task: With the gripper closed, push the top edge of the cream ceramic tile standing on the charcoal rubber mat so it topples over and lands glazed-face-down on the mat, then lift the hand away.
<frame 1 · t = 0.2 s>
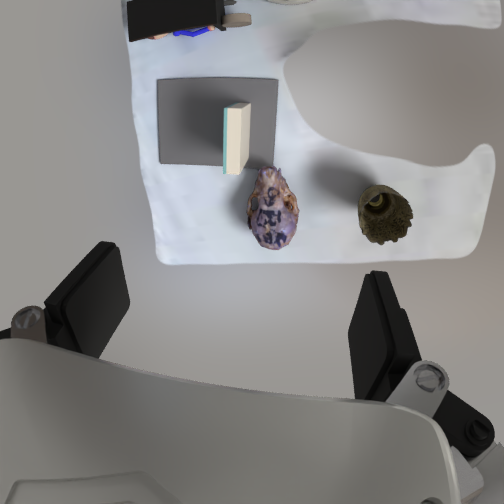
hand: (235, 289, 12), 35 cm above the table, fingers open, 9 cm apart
tile: (242, 130, 42), resting on mat
mat: (215, 122, 42), on the table
skull: (274, 200, 47), on the table, touching mat
figurine character: (197, 16, 34), on the table
cup: (373, 196, 45), on the table
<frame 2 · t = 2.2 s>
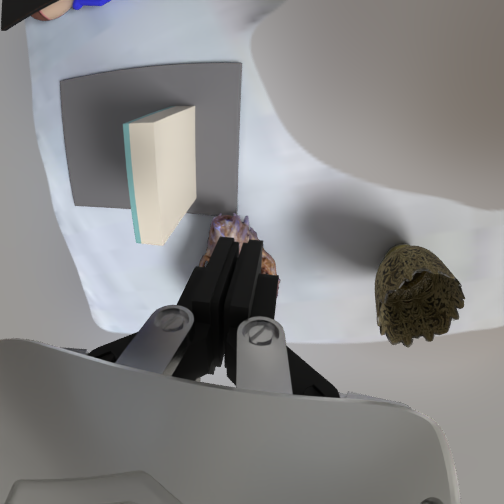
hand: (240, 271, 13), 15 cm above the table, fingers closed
tile: (183, 153, 25), resting on mat
mat: (141, 140, 25), on the table
skull: (241, 262, 30), on the table, touching mat
cup: (399, 256, 28), on the table
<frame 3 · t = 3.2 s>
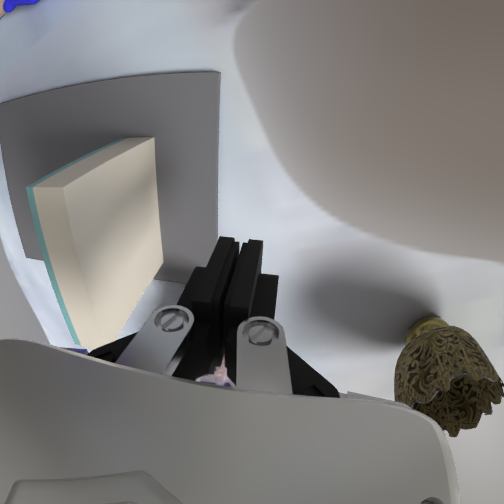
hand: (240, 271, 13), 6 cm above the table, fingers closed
tile: (142, 203, 18), resting on mat
mat: (90, 183, 18), on the table
skull: (225, 336, 23), on the table, touching mat
cup: (424, 328, 21), on the table
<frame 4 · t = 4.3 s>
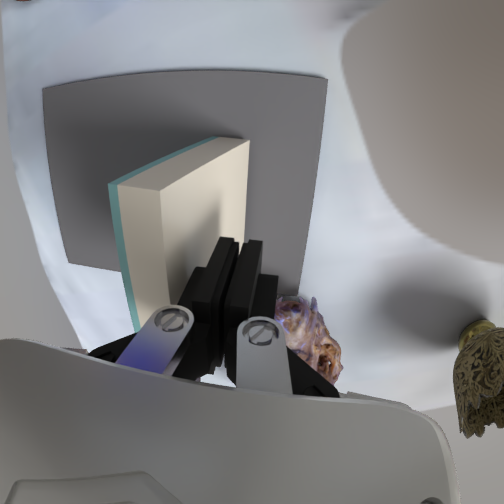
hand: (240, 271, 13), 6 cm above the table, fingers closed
tile: (228, 209, 17), point 1 cm above the table, tilted 11°, touching mat
mat: (163, 183, 18), on the table
skull: (294, 343, 23), on the table, touching mat
cup: (473, 330, 21), on the table
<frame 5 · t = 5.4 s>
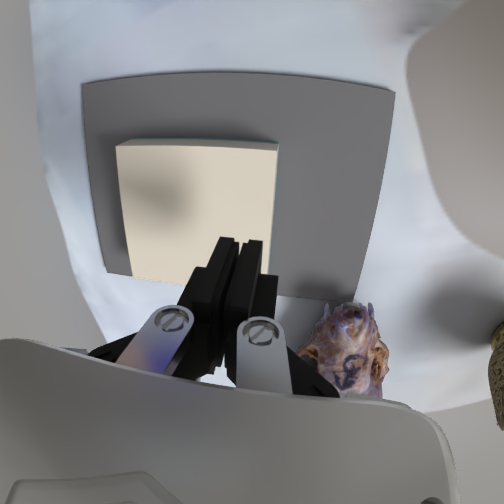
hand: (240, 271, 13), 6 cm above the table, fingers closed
tile: (272, 222, 17), point 1 cm above the table, tilted 90°, touching mat
mat: (223, 190, 17), on the table
skull: (342, 348, 23), on the table, touching mat
cup: (503, 329, 20), on the table
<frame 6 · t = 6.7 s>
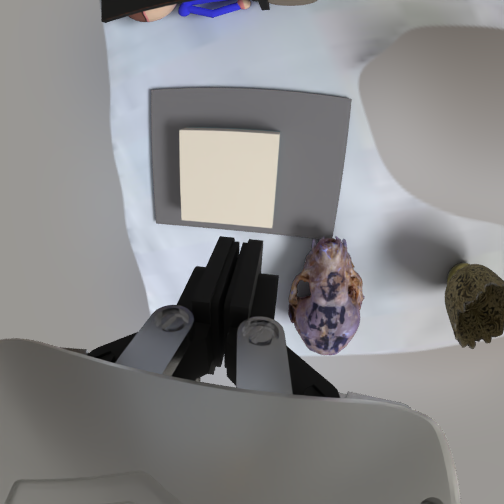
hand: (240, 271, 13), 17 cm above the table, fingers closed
tile: (276, 179, 26), point 1 cm above the table, tilted 90°, touching mat
mat: (244, 161, 27), on the table
skull: (327, 281, 32), on the table, touching mat
cup: (457, 273, 30), on the table
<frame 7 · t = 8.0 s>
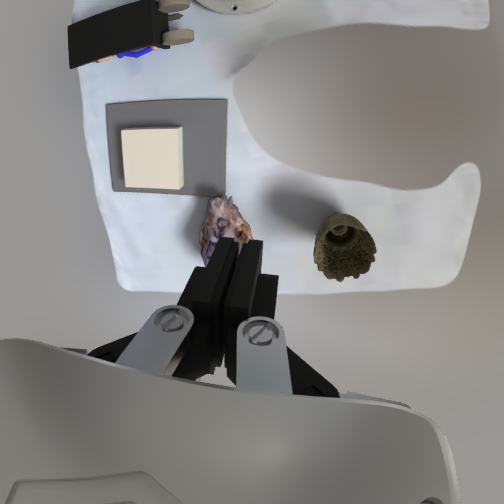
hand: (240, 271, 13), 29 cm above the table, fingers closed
tile: (180, 157, 39), point 1 cm above the table, tilted 90°, touching mat
mat: (163, 147, 40), on the table
skull: (228, 229, 45), on the table, touching mat
figurine character: (144, 34, 32), on the table
cup: (338, 224, 43), on the table
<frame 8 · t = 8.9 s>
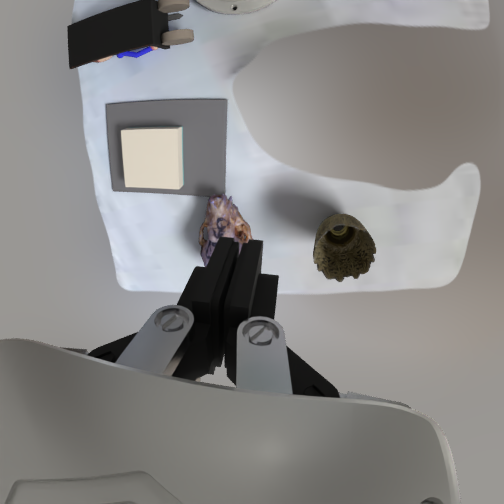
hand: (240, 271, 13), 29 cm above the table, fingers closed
tile: (180, 157, 39), point 1 cm above the table, tilted 90°, touching mat
mat: (163, 147, 40), on the table
skull: (228, 229, 45), on the table, touching mat
figurine character: (144, 34, 32), on the table
cup: (337, 224, 43), on the table
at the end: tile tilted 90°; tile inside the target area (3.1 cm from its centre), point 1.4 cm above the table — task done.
